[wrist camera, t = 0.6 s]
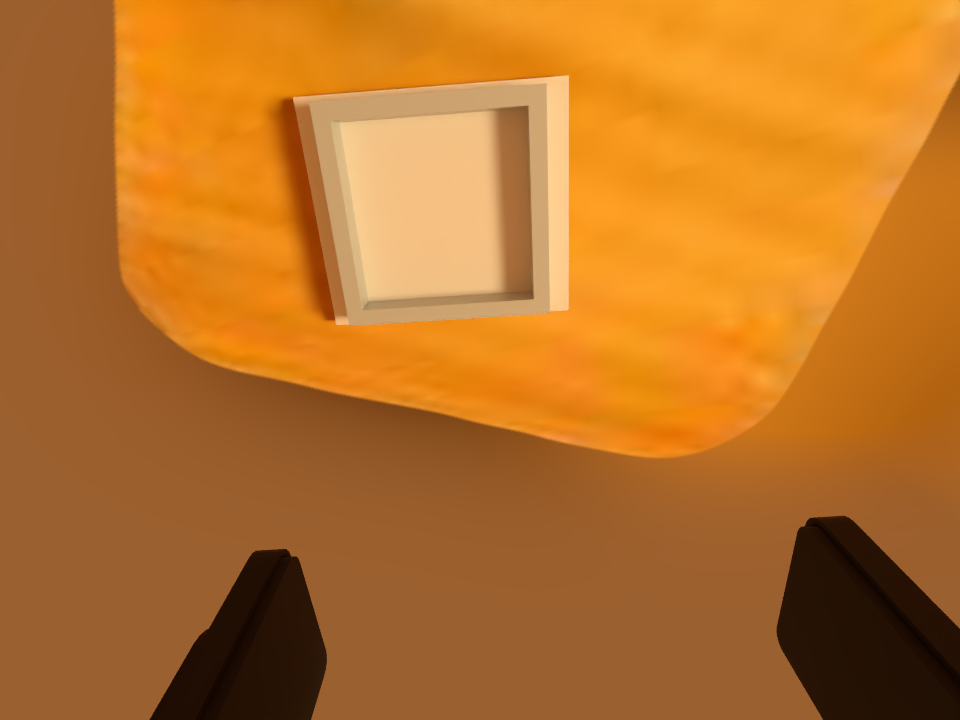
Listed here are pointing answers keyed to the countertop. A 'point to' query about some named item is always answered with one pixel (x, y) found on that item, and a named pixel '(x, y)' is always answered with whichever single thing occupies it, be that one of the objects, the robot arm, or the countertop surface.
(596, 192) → the countertop surface
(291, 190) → the countertop surface
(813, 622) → the robot arm
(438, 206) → the tray
